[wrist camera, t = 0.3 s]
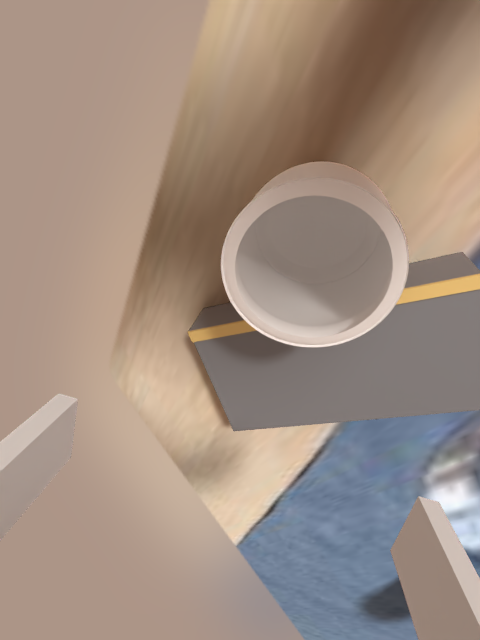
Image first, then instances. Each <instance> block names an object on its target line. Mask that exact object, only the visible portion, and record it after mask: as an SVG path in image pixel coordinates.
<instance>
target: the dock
mask: <svg viewBox="0 0 480 640" xmlns="http://www.w3.org/2000/svg"><path fill="white" fill-rule="evenodd" d="M188 335H189V337H190V339H191V341H192V342H194V344H195V346H196V349H197V351H198V353H199V355H200V357H201V360H202V362H203V364H204V366H205V369H206V371H207V373H208V375H209V377H210V380H211V382H212V384H213V386H214V389H215V391H216V393H217V395H218V397H219V400H220V402H221V404H222V406H223V409H224V411H225V413H226V415H227V417H228V420H229V422H230V424H231V426H232V429H233V431H242V430H254V429H266V428H277V427H289V426H300V425H312V424H323V423H335V422H347V421H358V420H370V419H381V418H393V417H404V416H416V415H428V414H439V413H451V412H462V411H474V410H480V270H479V269H478V268H477V267H476V266H475V265H474V264H473V263H472V262H471V261H470V260H469V258H468V257H467V256H466V255H465V254H464V253H463V252H460V253H455V254H450V255H446V256H441V257H437V258H432V259H428V260H423V261H418V262H414V263H409V270H408V276H407V280H406V284H405V287H404V289H403V292H402V294H401V296H400V298H399V300H398V302H397V303H396V305H395V306H394V308H393V309H392V310H391V312H390V313H389V314H388V315H387V316H386V317H385V318H384V319H383V320H382V321H381V322H380V323H379V324H378V325H377V326H375V327H374V328H373V329H371V330H370V331H368V332H367V333H365V334H363V335H361V336H359V337H357V338H355V339H353V340H350V341H348V342H345V343H341V344H337V345H333V346H327V347H300V346H293V345H289V344H285V343H282V342H279V341H276V340H274V339H271V338H269V337H267V336H265V335H264V334H262V333H260V332H259V331H257V330H256V329H254V328H253V327H252V326H251V325H249V324H248V323H247V322H246V321H245V320H244V319H243V318H242V317H241V316H240V315H239V313H238V312H237V311H236V309H235V308H234V306H233V305H232V303H227V304H222V305H217V306H213V307H208V308H204V309H203V310H202V311H201V313H200V315H199V316H198V318H197V319H196V321H195V322H194V324H193V325H192V327H191V328H190V330H189V331H188Z"/></svg>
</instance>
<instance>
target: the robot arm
mask: <svg viewBox="0 0 480 640" xmlns="http://www.w3.org/2000/svg"><path fill="white" fill-rule="evenodd" d="M77 403H78V399H77V398H73V397H69V396H66V395H62V394H57V395H56V396H55V397H54V398H53V399H51V400H50V401H49V402H48V403H47V404H46V405H44V406H43V407H42V408H40V409H39V410H38V411H37V412H36V413H35V414H33V415H32V416H31V417H30V418H28V419H27V420H26V421H25V422H24V423H23V424H21V425H20V426H19V427H18V428H16V429H15V430H14V431H13V432H12V433H10V434H9V435H8V436H7V437H6V438H4V439H3V440H2V441H1V442H0V540H1V539H2V538H3V537H4V536H5V534H6V533H7V532H8V531H9V530H10V529H11V527H12V526H13V525H14V524H15V523H16V522H17V520H18V519H19V518H20V517H21V516H22V514H23V513H24V512H25V511H26V510H27V509H28V507H29V506H30V505H31V504H32V503H33V501H34V500H35V499H36V498H37V497H38V496H39V494H40V493H41V492H42V491H43V490H44V488H45V487H46V486H47V485H48V484H49V483H50V481H51V480H52V479H53V478H54V477H55V475H56V474H57V473H58V472H59V471H60V469H61V468H62V467H63V466H64V465H65V464H66V463H67V461H68V460H69V459H70V458H71V452H72V443H73V435H74V427H75V419H76V411H77ZM390 551H391V554H392V557H393V560H394V564H395V567H396V570H397V573H398V576H399V579H400V582H401V586H402V589H403V592H404V595H405V598H406V601H407V605H408V608H409V611H410V614H411V617H412V620H413V624H414V627H415V630H416V633H417V636H418V639H419V640H480V578H479V576H478V575H477V573H476V571H475V569H474V567H473V565H472V563H471V561H470V560H469V558H468V556H467V554H466V552H465V550H464V548H463V546H462V545H461V543H460V541H459V539H458V537H457V535H456V533H455V531H454V530H453V528H452V526H451V524H450V522H449V520H448V518H447V516H446V515H445V513H444V511H443V509H442V507H441V505H440V503H439V502H436V501H433V500H430V499H426V498H423V497H419V496H418V498H417V500H416V502H415V504H414V506H413V508H412V510H411V512H410V514H409V516H408V517H407V519H406V521H405V523H404V525H403V527H402V529H401V531H400V533H399V535H398V537H397V539H396V541H395V543H394V544H393V546H392V548H391V550H390Z"/></svg>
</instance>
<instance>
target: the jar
mask: <svg viewBox="0 0 480 640" xmlns="http://www.w3.org/2000/svg"><path fill="white" fill-rule="evenodd" d="M408 270H409V252H408V245H407V240H406V236H405V233H404V230H403V228H402V226H401V223H400V222H399V220H398V218H397V216H396V215H395V214H394V212H393V211H392V209H391V207H390V204H389V202H388V200H387V199H386V197H385V195H384V194H383V192H382V191H381V190H380V189H379V187H378V186H377V185H376V184H375V183H374V182H373V181H372V180H371V179H370V178H368V177H367V176H366V175H364V174H363V173H361V172H360V171H358V170H356V169H354V168H352V167H349V166H346V165H343V164H340V163H335V162H325V161H319V162H309V163H304V164H300V165H297V166H294V167H292V168H289V169H287V170H285V171H283V172H281V173H280V174H278V175H277V176H275V177H274V178H272V179H271V180H270V181H269V182H268V183H266V184H265V185H264V186H263V187H262V188H261V189H260V190H259V192H258V193H257V194H256V195H255V197H254V198H253V199H252V201H251V202H250V203H249V204H248V205H247V206H246V207H245V208H244V209H243V210H242V211H241V212H240V213H239V214H238V216H237V217H236V219H235V220H234V222H233V223H232V225H231V227H230V229H229V231H228V233H227V235H226V238H225V241H224V244H223V249H222V255H221V274H222V280H223V284H224V287H225V290H226V293H227V295H228V298H229V300H230V301H231V303H232V305H233V306H234V308H235V309H236V311H237V312H238V313H239V315H240V316H241V317H242V318H243V319H244V320H245V321H246V322H247V323H248V324H249V325H251V326H252V327H253V328H254V329H256V330H257V331H259V332H260V333H262V334H264V335H265V336H267V337H269V338H271V339H274V340H276V341H279V342H282V343H285V344H289V345H293V346H300V347H327V346H333V345H337V344H341V343H345V342H348V341H350V340H353V339H355V338H357V337H359V336H361V335H363V334H365V333H367V332H368V331H370V330H371V329H373V328H374V327H375V326H377V325H378V324H379V323H380V322H381V321H382V320H383V319H384V318H385V317H386V316H387V315H388V314H389V313H390V312H391V310H392V309H393V308H394V306H395V305H396V303H397V302H398V300H399V298H400V296H401V294H402V292H403V289H404V287H405V284H406V280H407V276H408Z"/></svg>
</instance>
